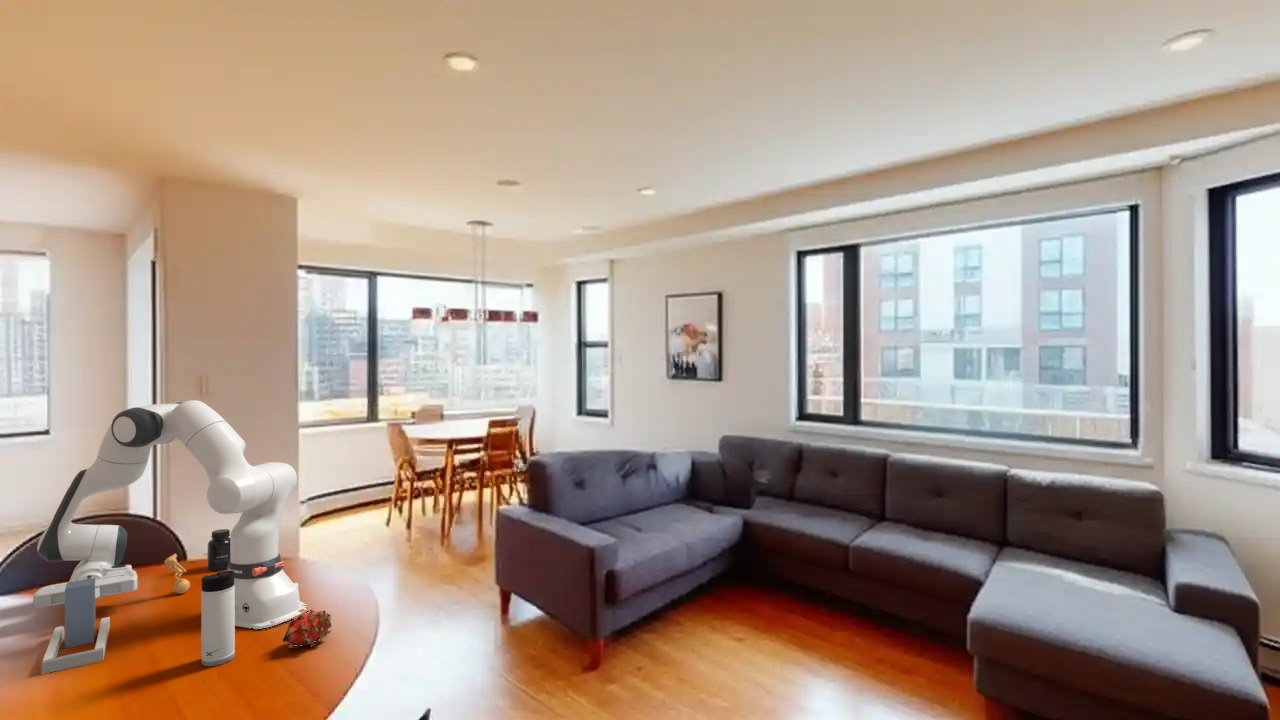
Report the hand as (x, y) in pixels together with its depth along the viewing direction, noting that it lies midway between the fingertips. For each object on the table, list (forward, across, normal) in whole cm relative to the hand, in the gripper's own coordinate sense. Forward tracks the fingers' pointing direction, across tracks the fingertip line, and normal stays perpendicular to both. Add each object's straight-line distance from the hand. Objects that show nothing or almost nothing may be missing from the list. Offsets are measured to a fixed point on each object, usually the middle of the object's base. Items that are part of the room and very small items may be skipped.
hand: (85, 599), depth 155 cm
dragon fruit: (+43, +43, +8) cm, 61 cm away
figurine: (-13, +19, +8) cm, 24 cm away
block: (+9, 0, +7) cm, 11 cm away
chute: (+13, 0, +7) cm, 15 cm away
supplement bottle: (-31, +30, +8) cm, 44 cm away
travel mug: (+39, +26, +8) cm, 47 cm away
